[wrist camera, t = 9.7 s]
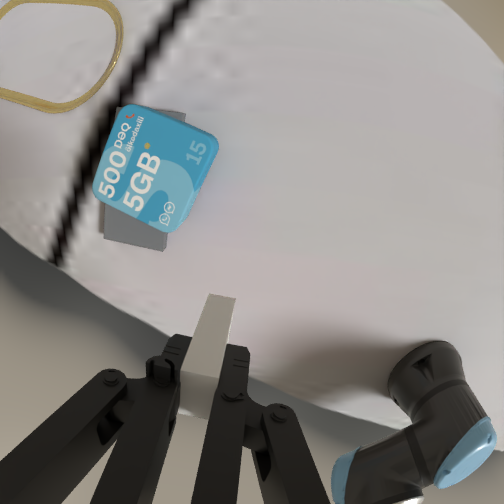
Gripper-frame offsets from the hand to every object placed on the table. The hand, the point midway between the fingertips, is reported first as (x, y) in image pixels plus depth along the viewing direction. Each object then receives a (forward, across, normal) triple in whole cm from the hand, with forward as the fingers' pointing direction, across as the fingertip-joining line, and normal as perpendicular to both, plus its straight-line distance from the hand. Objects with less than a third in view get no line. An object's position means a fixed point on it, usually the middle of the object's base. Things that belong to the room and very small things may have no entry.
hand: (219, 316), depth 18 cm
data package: (+20, +6, -4) cm, 21 cm away
